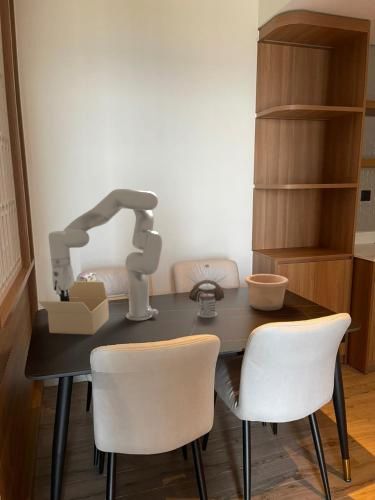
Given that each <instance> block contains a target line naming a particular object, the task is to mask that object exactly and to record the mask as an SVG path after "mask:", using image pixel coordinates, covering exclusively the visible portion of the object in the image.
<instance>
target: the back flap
mask: <svg viewBox="0 0 375 500" xmlns="http://www.w3.org/2000/svg"><path fill="white" fill-rule="evenodd" d="M69 297H73V298H108V294H107V291H106V287H105V283H104V281H97V280H96V281H79V280H74V285H73V286H72V287H70V289H69Z"/></svg>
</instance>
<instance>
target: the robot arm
mask: <svg viewBox="0 0 375 500" xmlns="http://www.w3.org/2000/svg"><path fill="white" fill-rule="evenodd" d="M158 203H159V198H158V196H157V195H156V194H155V193H154V192H152V191H148V190H146V191H145V190H137V189H129V188H116V189H114V190H111V192H109V193H108V194H107V195H106V196H104V198H103V199H102V200H100V201H99V203H97V204H96V205H94V206H93V208H91V209H89V210H88V211H86V212H85V213H83V214H81V215H80V216H78V217H76V218H75V219H73V220H72V221H71V222H70V223H69V224H68V225H67V226H65V228H64V229H63V230H56V231H55V230H54V231H52V232H49V233H48V245H49V253H50V254H49V255H50V262H51V263H50V264H51V265H50V266H51V267H52V269H51V271H52V272H51V278H52V280H51V281H52V287H53V290H54V291H56V292H55V295H58V296H59V300H60V301H61V302H70V301H69V289H70V287H72V286H73V285H74V281H75V278H74V277H75V276H74V270H73V267H72V262H71V252H70V248H71V249H75V248H83V247H85V246H87V245H88V243H90V234H89V233H88V231H90V230H91V229H93V228H97V227H100V226H101V227H102V226H103V225H106V224H107V223H108V222H109V221H111V219H112V218H114V216H116V215H117V214H118V213H119V212H120V211H121V210H122V209H125V210H126V209H127V210H132V211H133V212H134V215H135V223H134V230H133V235H132V242H131V243H132V246H133V247H134V248H135V249H137V250H140V251H142V252H140V251H139V252H138V251H133V252H131V253H129V254H128V255H127V256H126V257H125V261H124V262H125V264H124V265H125V270H126V273H127V281H128V283H127V284H128V286H127V287H128V288H127V289H128V306H129V307H128V308H129V309H128V311H129V312H127V313H126V315H125V317H126V319H128V321H137V322H139V321H141V322H142V321H146V320H148V319H151V318H152V317H153V315H158V314H159V311H158V309H156V308H151V305H150V300H149V299H150V296H149V295H150V294H149V277H148V276H152V275H153V274H155V273H156V272H157V270H158V267H159V264H160V261H161V260H160V259H161V253H162V247H163V239H162V236H161V234H159V233H158V232H157V231H154V230H153V229H154V222H155V221H154V218H155V217H154V215H153V211H154V209H156V208H157V206H158Z"/></svg>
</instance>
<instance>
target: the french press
mask: <svg viewBox="0 0 375 500" xmlns="http://www.w3.org/2000/svg"><path fill="white" fill-rule="evenodd" d="M204 267H205V268H209V267H210V264H205V265H204ZM199 288H200V289H202V290H212V289H215V286H214V285H212V284H208V283H207V284H203V285H201V286H199ZM200 292H201V291H200ZM200 292H199V293H200ZM199 293H198V294H199ZM202 293H203V294H202ZM202 293H201V294H200V298H199V301H196V303H197V305H198V307H199V308H198V309H199V311H198V313H197V316H199V317H200V318H214V317H216V316H217V315H218V313H217V312H216V301H215V297H214V296H215V295H214V294H211V293H204V292H202ZM197 297H198V296H197ZM201 299H203V301H202V300H201Z"/></svg>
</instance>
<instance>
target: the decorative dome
mask: <svg viewBox="0 0 375 500" xmlns="http://www.w3.org/2000/svg"><path fill="white" fill-rule="evenodd" d="M207 283H208V284H212V285H214V286H215V289H212V290H202V289H200V288H199V286H201V285H203V284H207ZM200 291H201V292H200ZM199 292H200V293H199ZM202 292H204V293H211V294H214V295H215V296H214V297H215V302H216V301H218V302H219V301H220V300H221V299H224V298H225V293H224V292H225V291H224V290H223V288H222V287H221V286H220V284H219V283H217V282H216V281H214V280H210V279H204V280H201V281H199V282H197V283H196V284H194V285H193V287H192V289H191V290H190V292H189V296H190V300H194V299H195V301H196V302H199V298H200V294H201V293H202ZM198 293H199V294H198ZM202 294H203V293H202ZM197 296H198V297H197ZM201 300H202V301H203V299H201Z"/></svg>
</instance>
